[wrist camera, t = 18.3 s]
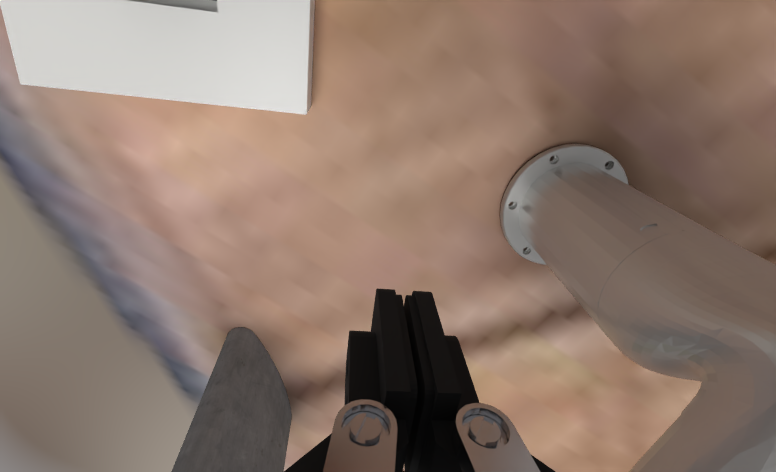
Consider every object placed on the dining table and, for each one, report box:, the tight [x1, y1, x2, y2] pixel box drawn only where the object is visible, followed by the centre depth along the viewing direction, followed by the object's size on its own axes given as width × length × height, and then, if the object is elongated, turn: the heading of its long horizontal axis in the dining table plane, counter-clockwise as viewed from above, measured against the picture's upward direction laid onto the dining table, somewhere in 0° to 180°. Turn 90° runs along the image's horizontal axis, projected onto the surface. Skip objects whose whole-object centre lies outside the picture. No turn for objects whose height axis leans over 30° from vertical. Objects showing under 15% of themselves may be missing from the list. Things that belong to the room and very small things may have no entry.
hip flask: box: [172, 327, 292, 472], centre depth 40 cm, size 16×4×20 cm, turn 12°
